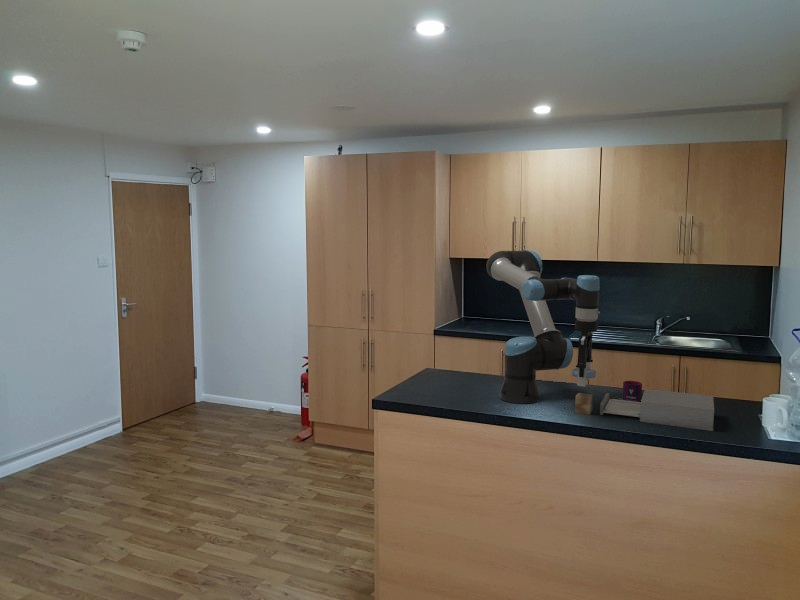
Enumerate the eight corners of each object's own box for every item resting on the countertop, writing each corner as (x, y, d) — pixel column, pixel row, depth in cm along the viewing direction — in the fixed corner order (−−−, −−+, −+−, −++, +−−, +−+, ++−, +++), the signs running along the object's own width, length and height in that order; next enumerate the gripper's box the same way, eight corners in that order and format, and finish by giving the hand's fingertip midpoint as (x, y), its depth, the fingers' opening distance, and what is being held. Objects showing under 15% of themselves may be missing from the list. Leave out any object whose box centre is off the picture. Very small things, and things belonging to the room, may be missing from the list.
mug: (621, 401, 229) (622, 383, 228) (624, 394, 238) (625, 378, 237) (640, 403, 226) (641, 385, 225) (642, 397, 234) (643, 379, 234)
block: (575, 412, 214) (575, 396, 214) (577, 409, 219) (578, 392, 218) (589, 414, 212) (590, 398, 211) (591, 410, 217) (592, 394, 216)
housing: (639, 421, 204) (640, 401, 204) (644, 407, 220) (645, 388, 220) (712, 431, 195) (714, 409, 194) (711, 415, 211) (713, 396, 210)
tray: (599, 414, 211) (600, 404, 211) (606, 403, 225) (606, 393, 225) (654, 421, 203) (654, 410, 203) (657, 409, 218) (657, 398, 217)
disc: (570, 376, 213) (570, 372, 212) (574, 371, 220) (574, 367, 219) (593, 379, 209) (594, 374, 209) (597, 374, 216) (597, 369, 216)
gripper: (593, 325, 201) (589, 391, 204) (602, 316, 219) (598, 377, 222) (569, 323, 204) (567, 388, 207) (580, 314, 222) (577, 374, 226)
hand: (583, 382), depth 215 cm, fingers closed on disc, 8 cm apart
